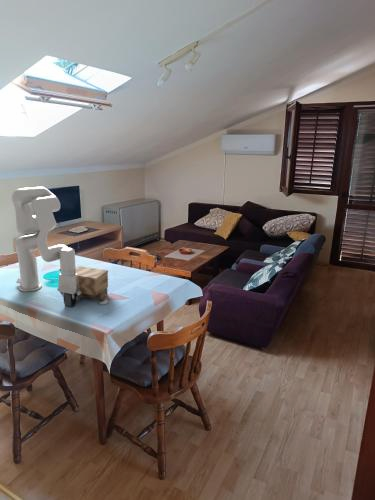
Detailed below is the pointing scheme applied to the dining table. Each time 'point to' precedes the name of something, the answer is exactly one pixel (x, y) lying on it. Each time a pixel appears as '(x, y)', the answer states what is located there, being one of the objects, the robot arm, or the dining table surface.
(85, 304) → the dining table surface
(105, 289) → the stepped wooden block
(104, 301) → the disc
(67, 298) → the grey mallet
